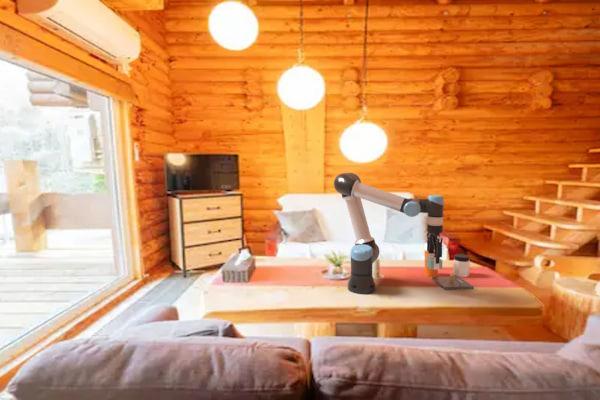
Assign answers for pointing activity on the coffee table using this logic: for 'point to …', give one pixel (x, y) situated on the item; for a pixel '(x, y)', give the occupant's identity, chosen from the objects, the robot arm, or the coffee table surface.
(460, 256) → the jar
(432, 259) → the teal open box
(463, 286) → the hub plate
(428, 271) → the shaker bottle
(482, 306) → the coffee table surface
